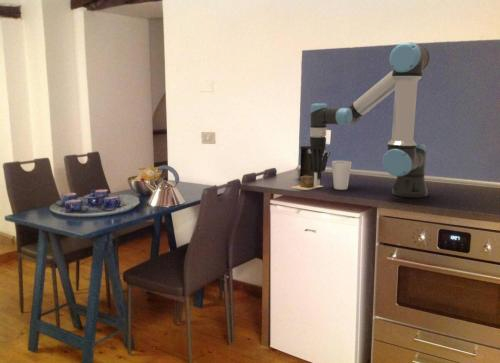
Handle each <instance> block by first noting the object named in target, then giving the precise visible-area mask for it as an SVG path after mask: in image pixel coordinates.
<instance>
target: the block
mask: <svg viewBox="0 0 500 363" xmlns="http://www.w3.org/2000/svg"><path fill="white" fill-rule="evenodd" d="M299 178H300V180H299V185H300V187H305V188H311V187H315V186H314V179H313V176H307V175H306V176H301V177H300V176H299Z"/></svg>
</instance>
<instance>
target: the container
mask: <svg viewBox="0 0 500 363" xmlns="http://www.w3.org/2000/svg"><path fill="white" fill-rule="evenodd" d="M310 146H311V145H301V146H300V170H299V172H300V173H299V180H298V181H300V177H301V176H306V175H307V176H313V171H311V170H310V169H309V164H308V158H307V154H306V150H309V149H310Z"/></svg>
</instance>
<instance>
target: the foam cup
mask: <svg viewBox="0 0 500 363" xmlns="http://www.w3.org/2000/svg"><path fill="white" fill-rule="evenodd" d="M331 169H332V170H331V172H332V180H333V181H332V182H333V189H335V190H348V188H349V183H350V182H349V180H350V175H351V169H352V161H349V160H333V161H331Z"/></svg>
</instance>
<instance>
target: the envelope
mask: <svg viewBox="0 0 500 363" xmlns="http://www.w3.org/2000/svg"><path fill="white" fill-rule="evenodd" d="M321 187H324V185H320V186H315V187H311V188H305V187H300V184H299V185H296V186H295V185H294V186H290V188H291V189H292V188H293V189H298V190H303V191H304V190H305V191H309V190H312V189H317V188H321Z"/></svg>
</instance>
